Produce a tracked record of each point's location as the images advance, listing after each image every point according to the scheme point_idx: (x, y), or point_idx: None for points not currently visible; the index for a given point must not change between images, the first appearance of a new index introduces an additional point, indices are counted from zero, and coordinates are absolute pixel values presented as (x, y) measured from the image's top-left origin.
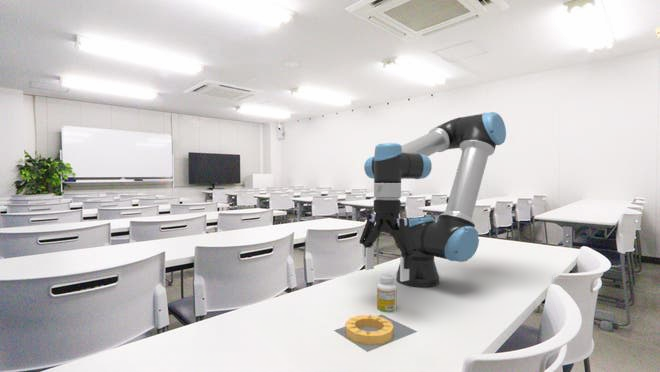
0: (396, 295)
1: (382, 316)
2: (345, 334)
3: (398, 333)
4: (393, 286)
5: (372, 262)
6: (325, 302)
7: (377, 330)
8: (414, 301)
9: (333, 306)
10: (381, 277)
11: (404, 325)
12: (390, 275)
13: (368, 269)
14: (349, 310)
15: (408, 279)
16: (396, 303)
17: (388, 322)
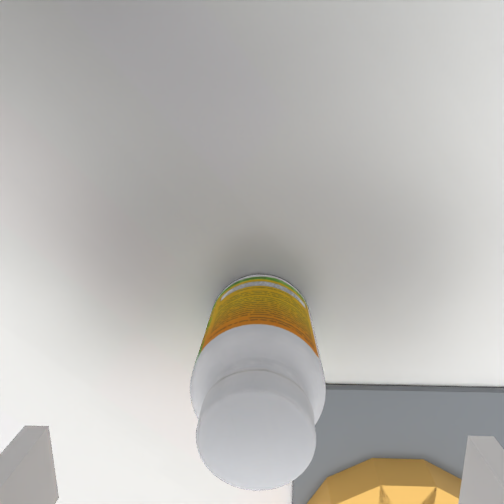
0: (310, 332)
1: None
2: None
3: None
4: (317, 396)
5: (13, 488)
6: None
7: None
8: (257, 85)
9: (81, 470)
10: (247, 489)
11: (442, 392)
12: (253, 403)
13: (54, 482)
14: (157, 445)
15: (494, 446)
16: (305, 310)
17: (440, 500)
